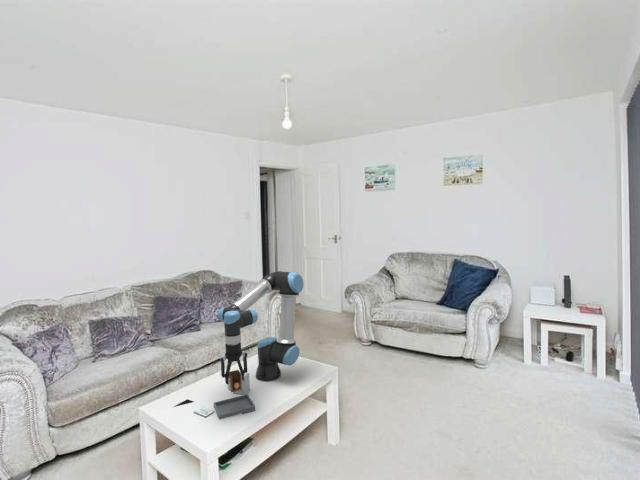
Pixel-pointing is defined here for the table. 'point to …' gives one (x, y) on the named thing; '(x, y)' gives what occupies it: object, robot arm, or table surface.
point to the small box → (244, 385)
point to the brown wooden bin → (235, 380)
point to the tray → (234, 406)
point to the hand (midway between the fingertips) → (235, 388)
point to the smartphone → (184, 402)
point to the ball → (236, 385)
